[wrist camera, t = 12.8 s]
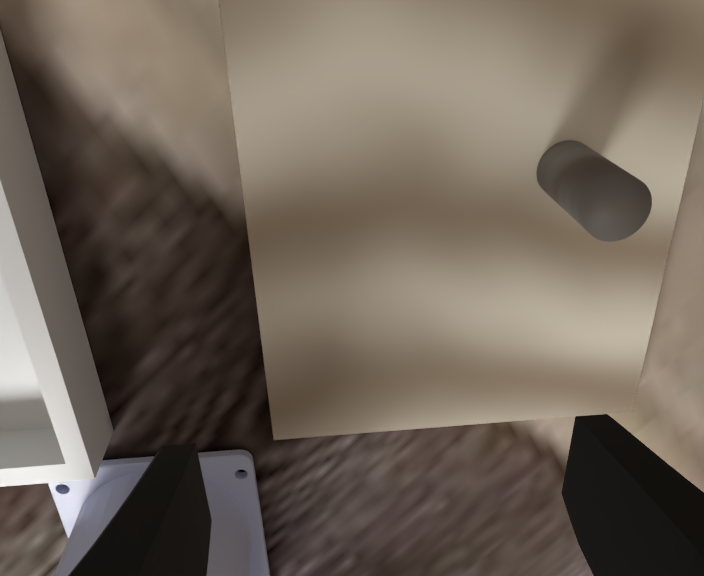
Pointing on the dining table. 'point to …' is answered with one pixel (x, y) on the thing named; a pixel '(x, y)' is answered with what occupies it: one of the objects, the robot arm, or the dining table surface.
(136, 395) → the dining table surface
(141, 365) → the dining table surface
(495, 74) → the board
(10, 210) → the tray
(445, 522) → the dining table surface
